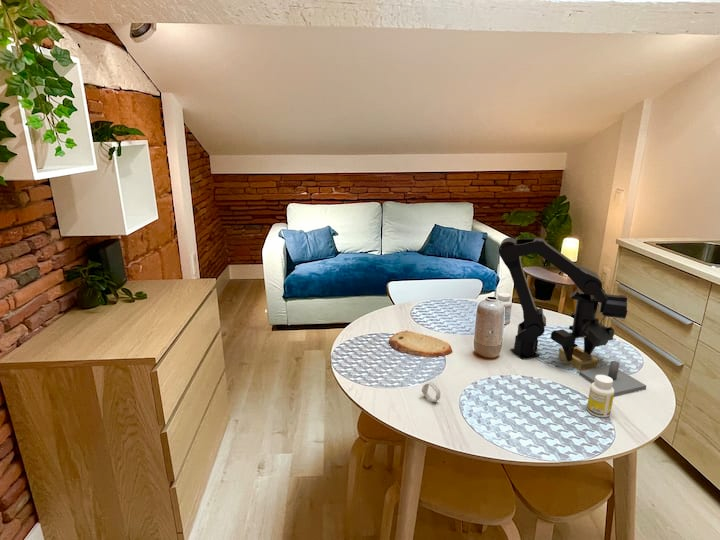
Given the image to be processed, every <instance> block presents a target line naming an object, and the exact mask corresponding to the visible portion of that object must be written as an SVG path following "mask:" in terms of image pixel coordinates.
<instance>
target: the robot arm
mask: <svg viewBox="0 0 720 540" xmlns="http://www.w3.org/2000/svg"><path fill="white" fill-rule="evenodd" d="M498 254H499V256H500V258H501V260H502V262H503V264H505V266H506V267H507V269H508V271H509V273H510V276H511V278H512V282H513V285H514V289H515V291H516V293H517V297H518V300H519V302H520V306H521V309H522V314H523V316H522V317H523V321H522V322H520V323H518V326H517V334H516V335H515V338H514V344H513V345H514V347H513V348H510V351H511V352H512V353H513V354H515V355H516V356H517V357H518V358H520V359H521V360H527V359H532V358H536V357H537V358H538V357H539V356H540V355H539V353H538V352H537V351H538V345H539V340H538V339H539V337H542V335H544V333H545V331H546V329H545V327H547V317H546V315H544V310H543V309H544V308H543V307H539V308H538V306H536V303H535V301H534V298H533V295H532V292H531V289H530V286H529V283H528V279H527V277H526V274H525V272H524V268H523V265H522V257H524V256H528V255H533V254H537V255H539V256H540V257H542V258H543V259H544V260H546V261H547V262H549V263H550V264H551V265H553V266H554V267H555V268H557V269H558V270H559V271H561V272H562V273H564V275H567V277H569V278H570V280H571V281H572V282H573V283H574V285H575V286H576V287H577V288H578V289H576V290H575V291H573V292H570V299H571V300H576V302H575V303H576V304H575V310H574V313H571V315H570V317H571V318H572V319H573V320H572V325H569V328H568V329H569V330H570V331H571V332H568V331H566V330H565V329H563V328H561V329H558V330H553V331H552V332H551V333H550V339H551V340H552V341H553V342H555V343H557V344H558V345H560V346H561V349H563V350H564V353H565V356H566V358H567V360H568V361H571V358H572V354H573V350H574V348H575V347H576V346H577V347H579V345H578V344H576V339H582V338H583V348H584V349H583V350H584V351H585V352H587V353H589V354H590V355H592V353H593V352H594V349H595V348H596V347H597V348H598V347H600V346H606V345H607V344H608V342H609V341H613V340H614V336H615V329H614V328H613V327H612V326H605V325H603V324H602V323H599V322H600V321H599V318H597V317H596V316H597V311H598V313H601V315H602V316H603V317H608V318H613V319H620V320H621V319H622V320H625V319H626V318H627V316H628V315H627V314H628V308H627V307H628V297H627V295H623V294H620V295H619V294H618V295H617V294H608V293H606V290H605V289H604V288H603V282H602V281H601V278H600V275H599V274H598V273H597V272H595V271H593V270H591V269H589V268H587V267H584V266H581V265H578V264H576V262H574V261H573V260H571V259H570V258H568V257H567V256H565V255H564V254H563V253H561V251H559V250H557V249H556V248H555V247H554V246H552V245H550V243H548V242H546V240H545V239H544V238H542V237H534V238H517V239H516V238H514V237H505V238H504V239H503V240H502V241H501V243H500V244H499V246H498ZM580 291H581V292H580Z"/></svg>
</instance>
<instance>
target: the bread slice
mask: <svg viewBox="0 0 720 540" xmlns="http://www.w3.org/2000/svg"><path fill="white" fill-rule="evenodd" d="M388 343H389V344H390V345H389V344H388V345H389V346H391V347H392V348H393V349H394V350H396V351H397V350H398V352H399V351H400V352H399V353H403V354H405V353H406V355H409V354H410V355H411V356H413V355H415V357H421V356H423V357H422V358H440V357H439V356H442V357H447V356H449V355H451V354H452V353H453V349H452V346H451V344H450V343H449V342H447V341H445V340H443V339H439V338H437V337H433V336H431V335H426V334H423V333H419V332H415V331H409V330H402V331H399V332H397V333H395V334H393V335H392V336H391V337H390V338H389V340H388ZM446 355H447V356H446Z"/></svg>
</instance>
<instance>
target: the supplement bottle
mask: <svg viewBox="0 0 720 540" xmlns="http://www.w3.org/2000/svg"><path fill="white" fill-rule="evenodd" d="M612 385H613V379H612V378H610V377H609V376H606V375H596V376H595V382H594V383H590V386H589V393H588V400H587V405H586V410H587V411H588V412H589V413H590V415H592V416H595V417H598V418H608V417H610V416H611V412H612V406H613V402H614V401H613V400H614V397H615V396H614V388H613V387H612Z"/></svg>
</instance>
